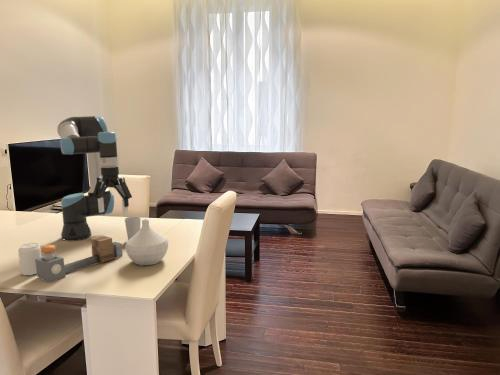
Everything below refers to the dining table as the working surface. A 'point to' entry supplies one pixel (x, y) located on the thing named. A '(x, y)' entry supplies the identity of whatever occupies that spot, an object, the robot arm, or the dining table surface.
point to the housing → (50, 268)
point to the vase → (146, 246)
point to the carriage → (102, 248)
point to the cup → (132, 226)
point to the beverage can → (29, 258)
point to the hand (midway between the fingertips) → (113, 213)
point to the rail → (92, 259)
